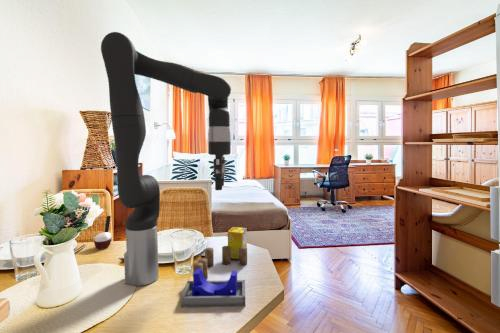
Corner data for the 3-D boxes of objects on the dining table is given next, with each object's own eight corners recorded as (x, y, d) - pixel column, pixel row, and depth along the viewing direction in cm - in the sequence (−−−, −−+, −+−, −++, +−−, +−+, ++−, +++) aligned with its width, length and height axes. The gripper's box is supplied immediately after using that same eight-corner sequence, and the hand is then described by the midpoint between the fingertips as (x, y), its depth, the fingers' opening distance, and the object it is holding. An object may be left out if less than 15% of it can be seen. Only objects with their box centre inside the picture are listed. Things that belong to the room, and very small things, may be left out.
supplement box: (232, 253, 108) (232, 226, 107) (247, 255, 106) (247, 227, 105) (227, 259, 102) (227, 231, 101) (242, 261, 100) (242, 232, 99)
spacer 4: (221, 265, 97) (221, 249, 97) (222, 261, 100) (222, 245, 100) (230, 265, 97) (230, 248, 97) (230, 261, 100) (230, 245, 100)
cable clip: (192, 296, 76) (191, 276, 75) (197, 288, 80) (196, 268, 80) (234, 299, 75) (234, 278, 74) (237, 290, 79) (237, 270, 79)
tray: (181, 307, 73) (181, 298, 72) (188, 289, 81) (187, 281, 81) (245, 306, 73) (245, 297, 73) (244, 288, 82) (244, 280, 82)
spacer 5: (238, 265, 97) (238, 249, 96) (238, 262, 100) (238, 246, 99) (247, 265, 97) (247, 249, 96) (247, 262, 100) (247, 246, 99)
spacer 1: (192, 285, 84) (192, 266, 83) (194, 280, 86) (194, 262, 86) (202, 285, 84) (202, 266, 83) (203, 280, 87) (203, 262, 86)
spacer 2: (197, 280, 87) (197, 262, 86) (198, 275, 90) (198, 258, 89) (207, 280, 87) (206, 262, 86) (208, 275, 90) (207, 258, 89)
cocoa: (98, 253, 108) (95, 224, 107) (88, 250, 111) (86, 221, 109) (119, 244, 117) (117, 217, 115) (109, 241, 120) (108, 215, 118)
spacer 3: (204, 267, 96) (204, 250, 95) (205, 263, 98) (205, 247, 98) (213, 267, 96) (212, 250, 95) (213, 263, 99) (213, 247, 98)
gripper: (229, 140, 85) (229, 191, 87) (231, 140, 99) (231, 184, 101) (205, 140, 85) (206, 191, 86) (210, 140, 99) (211, 184, 101)
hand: (219, 187), depth 94 cm, fingers open, 8 cm apart
